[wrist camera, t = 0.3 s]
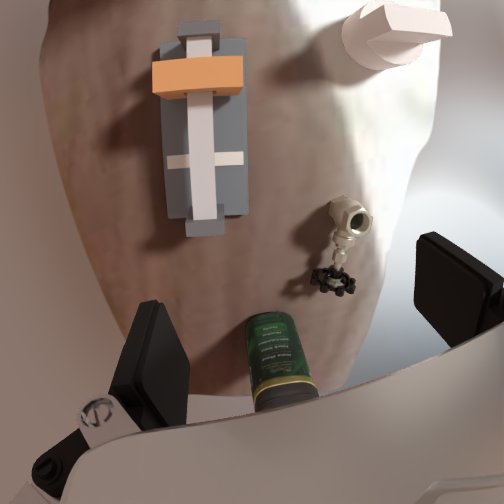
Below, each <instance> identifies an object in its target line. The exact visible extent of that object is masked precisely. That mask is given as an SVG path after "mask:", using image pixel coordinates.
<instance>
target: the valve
mask: <svg viewBox="0 0 504 504" xmlns="http://www.w3.org/2000/svg"><path fill="white" fill-rule="evenodd" d="M328 214H329V215H330V216H331V217H332V218H333V219H334V222H335V224H336V225H337V227H338V228H337V231H336V232H334V234H333V239H332V240H333V241H334V242H335V243H336V244H335V245H336V247H338V248H337V249H335V250H334V252H333V257H332V259H333V261H335V263H334V265H331V266H330V267H329V268H324V272H323V273H321V274H319V270H313V273H312V276H311V280H310V284H312V285H320V291H321V292H322V293H327V292H328V291H334V292H335V295H337V296H339V297H342V296H343V295H344V291H346V292H347V293H349V294H354V291H355V288H356V286H355V285H354V284H355V281H356V280H355V279H354V278H350V277H349V275H348V274H347V273H345V272H343V271H344V269H343V268H342V267H341V265H342V263H345V262H346V259H347V255H348V253H347V252H346V249H349V247H350V246H354V243H355V239H356V238H358V237H361V236H364V235H366V234H367V233H369V232H370V229H371V226H372V221H373V217H372V216H371V215H370V214H369V213H368V212H367V211H366V210H365V209H364V208H363V206H362V205H361V204H360V203H359V202H358V201H356V200H353V199H348V198H347V197H345V196H344V195H343V196H340V197H338V198H335V199H333V200H331V202H330V207H329V212H328ZM322 279H323V280H322ZM340 282H342V283H343V284H344V285H343V286H337V285H339V284H340Z"/></svg>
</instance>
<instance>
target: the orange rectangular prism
mask: <svg viewBox="0 0 504 504" xmlns="http://www.w3.org/2000/svg"><path fill="white" fill-rule="evenodd" d="M152 83H153V93H154V94H156V95H158V96H160V97H162V98H165V99H167V100H171V99H181V98H187V92H199V91H213V96H233V95H239V93H240V91H241V90H242V88H243V56H212V57H196V58H184V59H174V60H165V61H157V62H152Z"/></svg>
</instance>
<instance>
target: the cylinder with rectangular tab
mask: <svg viewBox="0 0 504 504" xmlns="http://www.w3.org/2000/svg"><path fill="white" fill-rule="evenodd" d="M341 37H342V42H343V45H344V47H345V49H346V51H347V52H348V54H349V55H350V57H352V58H353V59H354V60H355V61H356V62H357V63H358V64H360V65H362V66H363V67H365V68H368V69H371V70H385V69H389V68H393V67H397V66H402V65H406V64H410V63H412V62H414V61H415V60H416V59H417V58H418V57H419V56H420V54H421V51H422V48H423V44H424V43H427V42H431V41H435V40H439V39H443V38H447V37H452V29H451V24H450V22H449V19H448V17H447V15H446V13H444V12H439V11H434V10H428V9H422V8H415V7H408V6H401V5H399V4H397V3H395V2H392V1H389V0H374V1H371V2H369V3H367V4H366V5H365V6H363V7H362V8H360V9H359V10H357V11H356V12H354V13H353V14H352V15H350V16H349V17H348V18H347V19H346V20H345V22H344V23H343V25H342V30H341Z"/></svg>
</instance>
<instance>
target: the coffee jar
mask: <svg viewBox="0 0 504 504" xmlns="http://www.w3.org/2000/svg"><path fill="white" fill-rule="evenodd" d="M246 346H247V355H248V363H249V374H250V382H251V390H252V396H253V403H254V408H255V413H256V412H261V411H265V410H270V409H274V408H279V407H283V406H287V405H291V404H295V403H299V402H303V401H307V400H310V399H314V398H318V397H319V395H318V391H317V388H316V386H315V383H314V381H313V378H312V375H311V373H310V370H309V367H308V364H307V361H306V358H305V354H304V352H303V348H302V345H301V342H300V339H299V336H298V333H297V329H296V326H295V323H294V320H293V318H292V317H291V316H290V315H288V314H286V313H283V312H268V313H263V314H260V315H257V316H254V317H253V318H251V319H250V320H249V321H248V323H247V325H246Z"/></svg>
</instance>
